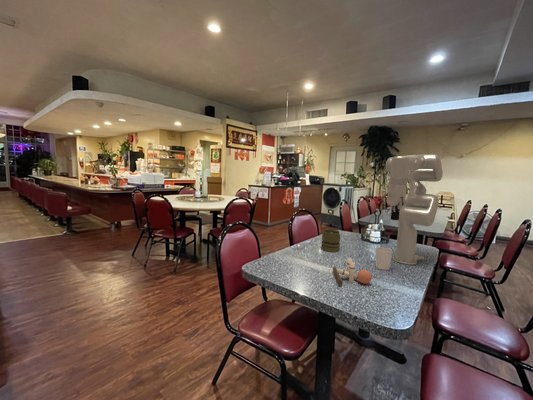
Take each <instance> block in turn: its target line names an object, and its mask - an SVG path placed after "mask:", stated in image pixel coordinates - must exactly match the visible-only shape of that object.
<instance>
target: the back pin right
mask: <svg viewBox="0 0 533 400" xmlns="http://www.w3.org/2000/svg"><path fill="white" fill-rule="evenodd" d="M350 262H353V258H352V257H351V258H350V257H347V259H346V270H345V271H347V272H349V266H350ZM345 278H346V279H349V277H347V276H345Z"/></svg>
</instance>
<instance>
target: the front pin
mask: <svg viewBox="0 0 533 400" xmlns="http://www.w3.org/2000/svg"><path fill="white" fill-rule="evenodd" d="M337 273H339V275H340V276H345V277H346V276H347V277H349V272H347V271H346V270H344V269H341V268H337ZM354 281H358V278H357V274H355V273H354Z"/></svg>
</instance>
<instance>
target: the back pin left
mask: <svg viewBox="0 0 533 400" xmlns="http://www.w3.org/2000/svg"><path fill="white" fill-rule="evenodd" d="M355 270H356V262H353V261H352V262H350V266H349V278H348V283H350V284H354V282H355V280H354V274H355Z"/></svg>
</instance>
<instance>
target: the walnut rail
mask: <svg viewBox="0 0 533 400" xmlns="http://www.w3.org/2000/svg"><path fill="white" fill-rule="evenodd" d="M337 271H338V268H337V267H336V266H333V267H332V274H333V275H334V278H335V280H336V283H337V284H338V287H341V288H342V287H343V279H342V278H341V274H339V273H337Z"/></svg>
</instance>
